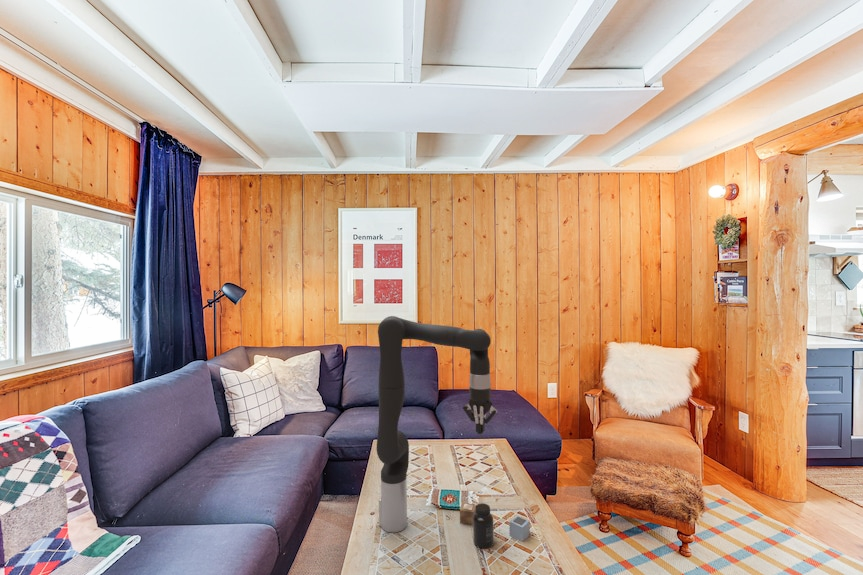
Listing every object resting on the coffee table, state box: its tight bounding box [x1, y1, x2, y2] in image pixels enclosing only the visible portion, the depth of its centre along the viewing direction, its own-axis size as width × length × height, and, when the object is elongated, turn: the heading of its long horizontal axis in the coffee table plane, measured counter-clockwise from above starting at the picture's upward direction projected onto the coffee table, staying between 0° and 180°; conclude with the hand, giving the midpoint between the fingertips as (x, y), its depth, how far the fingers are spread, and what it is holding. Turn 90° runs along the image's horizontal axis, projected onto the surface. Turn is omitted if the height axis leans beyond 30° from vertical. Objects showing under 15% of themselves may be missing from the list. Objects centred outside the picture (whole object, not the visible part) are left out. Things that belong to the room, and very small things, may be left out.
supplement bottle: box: [472, 502, 495, 549], centre depth 134 cm, size 7×7×12 cm
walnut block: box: [459, 502, 477, 526], centre depth 146 cm, size 5×5×5 cm
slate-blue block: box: [509, 514, 531, 543], centre depth 137 cm, size 5×5×5 cm
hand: (480, 433), depth 143 cm, fingers closed
